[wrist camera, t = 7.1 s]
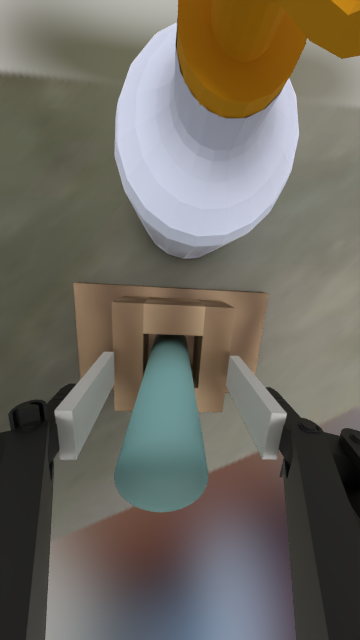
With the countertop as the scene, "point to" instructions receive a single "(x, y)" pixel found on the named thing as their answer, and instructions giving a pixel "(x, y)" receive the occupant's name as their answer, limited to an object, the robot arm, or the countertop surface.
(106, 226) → the countertop surface
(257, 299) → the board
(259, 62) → the soap bottle
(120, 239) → the countertop surface
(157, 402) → the peg
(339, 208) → the countertop surface
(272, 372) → the countertop surface
